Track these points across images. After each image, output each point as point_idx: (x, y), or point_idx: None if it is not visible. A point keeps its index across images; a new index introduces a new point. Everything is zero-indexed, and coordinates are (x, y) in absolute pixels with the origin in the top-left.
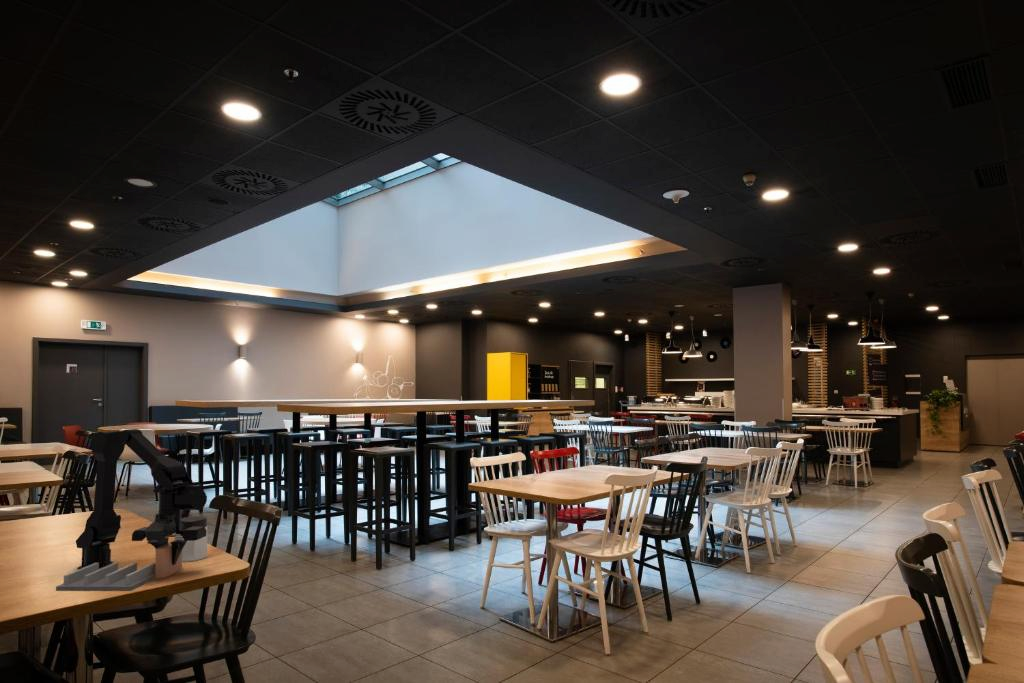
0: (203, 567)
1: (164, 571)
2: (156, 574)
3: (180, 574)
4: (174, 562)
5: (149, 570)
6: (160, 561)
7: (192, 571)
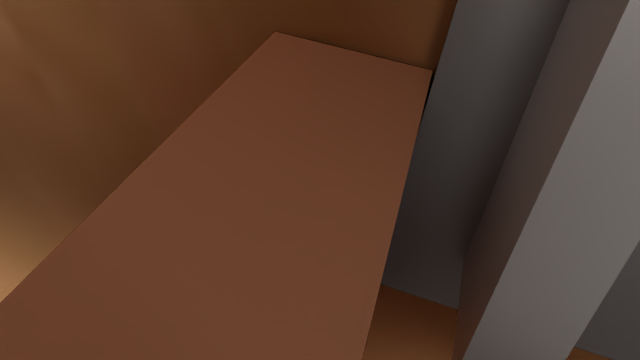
0: None
1: (233, 78)
2: (403, 91)
3: None
4: None
5: (544, 121)
6: (232, 209)
7: None
